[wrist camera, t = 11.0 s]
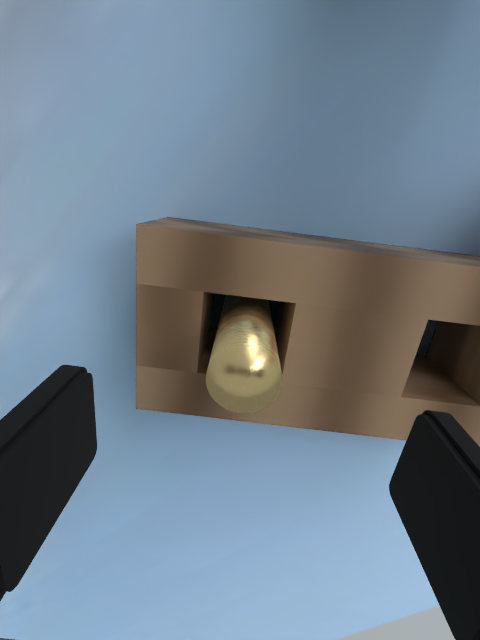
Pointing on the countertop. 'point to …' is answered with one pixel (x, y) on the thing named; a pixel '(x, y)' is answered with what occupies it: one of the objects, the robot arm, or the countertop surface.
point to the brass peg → (244, 357)
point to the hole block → (311, 326)
